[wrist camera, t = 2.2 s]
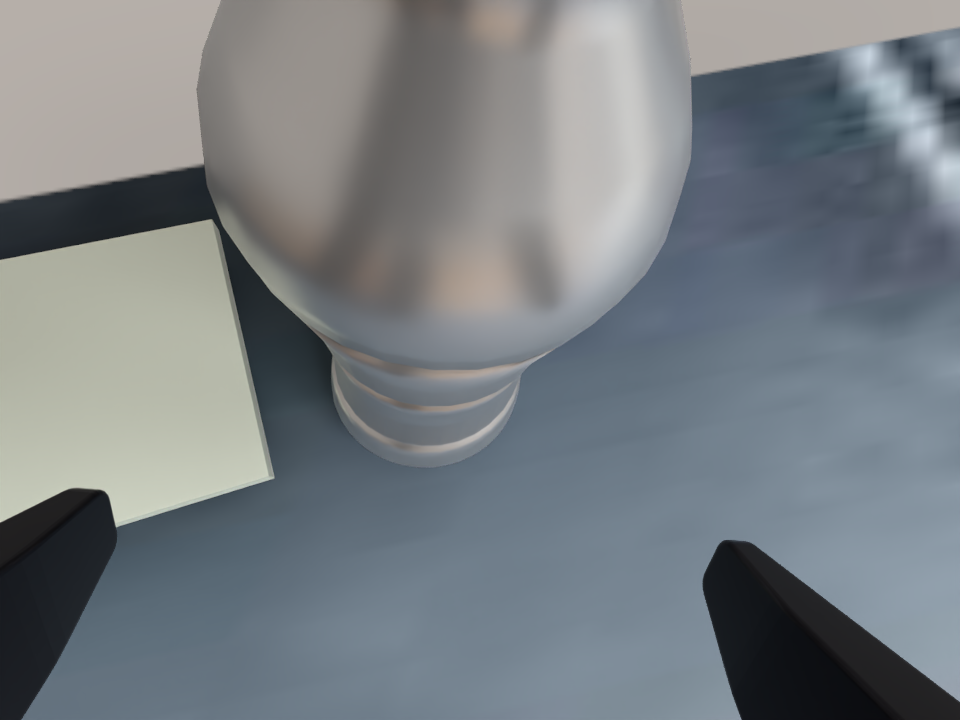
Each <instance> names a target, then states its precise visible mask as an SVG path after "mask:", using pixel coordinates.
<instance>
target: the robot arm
mask: <svg viewBox="0 0 960 720" xmlns="http://www.w3.org/2000/svg"><path fill="white" fill-rule="evenodd" d="M116 542H117V530H116V525H115V521H114V516H113V512H112V507H111V503H110V499H109V496H108V494H107V493H106V492H105V491H103V490H100V489H88V488H70V489H67V490H65V491H63V492H61V493H59V494H57V495H55V496H52V497H50V498H48V499H46V500H44V501H42V502H40V503H38V504H36V505H34V506H32V507H30V508H28V509H26V510H24V511H22V512H20V513H18V514H16V515H14V516H12V517H10V518H8V519H6V520H4V521H2V522H0V720H21V719H22V718H23V716H24V714H25V713H26V711H27V710H28V708H29V707H30V705H31V703H32V702H33V700H34V699H35V697H36V695H37V694H38V692H39V691H40V689H41V688H42V686H43V684H44V683H45V681H46V679H47V678H48V676H49V675H50V673H51V671H52V670H53V668H54V666H55V665H56V663H57V661H58V659H59V657H60V656H61V654H62V652H63V650H64V648H65V646H66V644H67V643H68V641H69V639H70V637H71V635H72V633H73V631H74V629H75V627H76V625H77V623H78V621H79V619H80V617H81V615H82V613H83V611H84V609H85V607H86V605H87V603H88V601H89V599H90V597H91V595H92V593H93V591H94V589H95V587H96V585H97V583H98V581H99V579H100V577H101V575H102V573H103V571H104V569H105V567H106V565H107V563H108V561H109V559H110V557H111V555H112V553H113V551H114V549H115V546H116ZM703 592H704V596H705V600H706V603H707V607H708V610H709V614H710V618H711V621H712V625H713V628H714V632H715V636H716V639H717V643H718V646H719V650H720V653H721V657H722V661H723V664H724V668H725V671H726V675H727V678H728V682H729V685H730V688H731V691H732V694H733V697H734V700H735V703H736V706H737V709H738V711H739V714H740V717H741V719H742V720H960V702H959V701H958V700H956V699H955V698H954V697H953V696H951V695H950V694H949V693H947V692H946V691H945V690H943V689H942V688H941V687H939V686H938V685H937V684H936V683H934V682H933V681H932V680H930V679H929V678H928V677H926V676H925V675H924V674H922V673H921V672H920V671H919V670H917V669H916V668H915V667H913V666H912V665H911V664H909V663H908V662H907V661H905V660H904V659H903V658H902V657H900V656H899V655H898V654H896V653H895V652H894V651H892V650H891V649H890V648H888V647H887V646H886V645H884V644H883V643H882V642H881V641H879V640H878V639H877V638H875V637H874V636H873V635H871V634H870V633H869V632H867V631H866V630H865V629H864V628H862V627H861V626H860V625H858V624H857V623H856V622H854V621H853V620H852V619H850V618H849V617H848V616H847V615H845V614H844V613H843V612H841V611H840V610H839V609H837V608H836V607H835V606H833V605H832V604H831V603H830V602H828V601H827V600H826V599H824V598H823V597H822V596H820V595H819V594H818V593H816V592H815V591H814V590H813V589H811V588H810V587H809V586H807V585H806V584H805V583H803V582H802V581H801V580H799V579H798V578H797V577H796V576H794V575H793V574H792V573H790V572H789V571H788V570H786V569H785V568H784V567H782V566H781V565H780V564H778V563H777V562H776V561H775V560H773V559H772V558H771V557H769V556H768V555H767V554H765V553H764V552H763V551H761V550H760V549H759V548H758V547H756V546H755V545H753V544H752V543H750V542H746V541H736V540H724V541H722V542H721V543H720V544H719V545H718V547H717V549H716V551H715V553H714V555H713V557H712V559H711V561H710V563H709V565H708V567H707V569H706V571H705V574H704V577H703Z"/></svg>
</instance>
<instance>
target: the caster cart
mask: <svg viewBox="0 0 960 720" xmlns="http://www.w3.org/2000/svg"><path fill="white" fill-rule="evenodd" d="M274 478H275V477H274V473H273V468H272V464H271V460H270V455H269V451H268V446H267V442H266V437H265V433H264V428H263V424H262V419H261V415H260V411H259V406H258V402H257V397H256V393H255V388H254V384H253V379H252V375H251V371H250V366H249V362H248V357H247V353H246V348H245V344H244V339H243V335H242V331H241V326H240V322H239V317H238V313H237V308H236V304H235V299H234V295H233V290H232V286H231V282H230V277H229V273H228V268H227V264H226V259H225V255H224V250H223V246H222V242H221V237H220V233H219V230H218V228H217V227H216V225H215V223H214V222H213V220H212V219H210V220H205V221H200V222H194V223H189V224H184V225H179V226H174V227H169V228H163V229H158V230H153V231H148V232H143V233H138V234H132V235H127V236H122V237H117V238H112V239H107V240H101V241H96V242H91V243H86V244H81V245H76V246H70V247H65V248H60V249H55V250H50V251H45V252H39V253H34V254H29V255H24V256H19V257H14V258H8V259H3V260H0V522H2V521H4V520H6V519H8V518H10V517H12V516H14V515H16V514H18V513H20V512H22V511H24V510H26V509H28V508H30V507H32V506H34V505H36V504H38V503H40V502H42V501H44V500H46V499H48V498H50V497H52V496H55V495H57V494H59V493H61V492H63V491H65V490H67V489H70V488H88V489H100V490H103V491H105V492H106V493H107V494H108V496H109V499H110V503H111V507H112V512H113V516H114V521H115V525H116V527H118V526H121V525H125V524H128V523H131V522H134V521H138V520H141V519H144V518H147V517H151V516H154V515H157V514H160V513H164V512H167V511H170V510H173V509H176V508H180V507H183V506H186V505H189V504H193V503H196V502H199V501H202V500H206V499H209V498H212V497H215V496H219V495H222V494H225V493H228V492H232V491H235V490H238V489H241V488H245V487H248V486H251V485H254V484H258V483H261V482H264V481H267V480H271V479H274Z"/></svg>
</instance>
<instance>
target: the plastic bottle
mask: <svg viewBox="0 0 960 720" xmlns="http://www.w3.org/2000/svg"><path fill="white" fill-rule="evenodd" d="M197 97H198V107H199V116H200V127H201V137H202V147H203V155H204V164H205V173H206V182H207V187H208V190H209V192H210V195H211V197H212V200H213V202H214V205H215V208H216V210H217V213H218V215H219V218H220V220H221V223H222V226H223V227H224V229H225V230H226V231H227V233H228V234H229V236H230V237H231V239H232V240H233V242H234V243H235V244H236V246H237V247H238V249H239V250H240V252H241V253H242V254H243V256H244V257H245V259H246V260H247V262H248V263H249V264H250V266H251V267H252V268H253V269H254V270H255V272H256V273H257V274H258V275H259V276H260V278H261V279H262V280H263V282H264V283H265V284H266V286H267V287H268V288H269V290H270V291H271V292H272V293H273V294H274V295H275V296H276V297H277V298H278V299H279V300H280V301H281V302H282V303H284V304H285V305H286V306H287V307H288V308H289V309H290V310H291V311H292V312H293V313H294V314H295V315H297V316H298V317H299V318H300V319H301V320H302V321H303V322H304V323H305V324H306V325H307V326H308V327H309V328H310V329H311V330H313V331H314V332H315V333H316V334H317V335H318V336H319V337H320V338H321V339H322V340H323V341H324V342H325V344H326V346H327V347H328V349H329V350H330V351H331V353H332V355H333V356H332V366H331V387H332V393H333V398H334V404H335V407H336V409H337V411H338V414H339V416H340V419H341V421H342V422H343V424H344V425H345V427H346V428H347V430H348V431H349V432H350V434H351V435H352V436H353V437H354V438H355V439H356V440H357V441H358V442H359V443H360V444H361V445H362V446H363V447H364V448H366V449H367V450H369V451H370V452H372V453H374V454H375V455H377V456H379V457H380V458H382V459H385V460H388V461H390V462H393V463H396V464H399V465H404V466H410V467H416V468H428V467H441V466H445V465H449V464H454V463H457V462H460V461H462V460H464V459H466V458H469V457H471V456H473V455H475V454H476V453H478V452H479V451H480V450H482V449H483V448H485V447H486V446H488V445H489V444H490V443H491V442H492V441H493V440H494V439H495V438H496V436H497V435H498V434H499V433H500V432H501V431H502V429H503V428H504V426H505V424H506V423H507V421H508V420H509V418H510V416H511V413H512V410H513V408H514V405H515V402H516V399H517V396H518V392H519V386H520V379H521V374H522V372H523V371H524V370H525V369H526V368H527V367H528V366H529V365H530V364H531V363H533V362H535V361H536V360H538V359H539V358H541V357H543V356H544V355H546V354H547V353H549V352H551V351H552V350H554V349H555V348H557V347H559V346H561V345H562V344H564V343H565V342H567V341H569V340H570V339H572V338H573V337H575V336H576V335H578V334H579V333H581V332H582V331H584V330H585V329H587V328H588V327H590V326H591V325H593V324H594V323H595V322H596V321H597V320H598V319H599V318H601V317H602V316H603V315H604V314H605V313H606V312H607V311H609V310H610V309H611V308H612V307H614V306H615V305H616V304H617V303H618V302H619V301H620V300H621V299H622V298H623V297H624V296H625V295H626V294H627V293H628V292H629V291H630V290H631V289H632V288H633V287H634V286H635V285H636V284H637V283H638V282H639V281H640V280H641V279H642V277H643V276H644V275H645V274H646V273H647V271H648V270H649V268H650V266H651V265H652V263H653V261H654V259H655V258H656V256H657V254H658V253H659V251H660V249H661V247H662V246H663V244H664V242H665V240H666V237H667V234H668V231H669V228H670V225H671V222H672V219H673V216H674V213H675V210H676V207H677V204H678V201H679V198H680V195H681V191H682V188H683V184H684V181H685V178H686V174H687V171H688V167H689V164H690V161H691V139H692V104H691V65H690V53H689V47H688V41H687V35H686V29H685V22H684V16H683V10H682V4H681V0H221V2H220V5H219V7H218V10H217V13H216V16H215V18H214V21H213V24H212V27H211V29H210V32H209V35H208V38H207V40H206V43H205V46H204V49H203V53H202V59H201V66H200V72H199V79H198V85H197Z"/></svg>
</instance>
